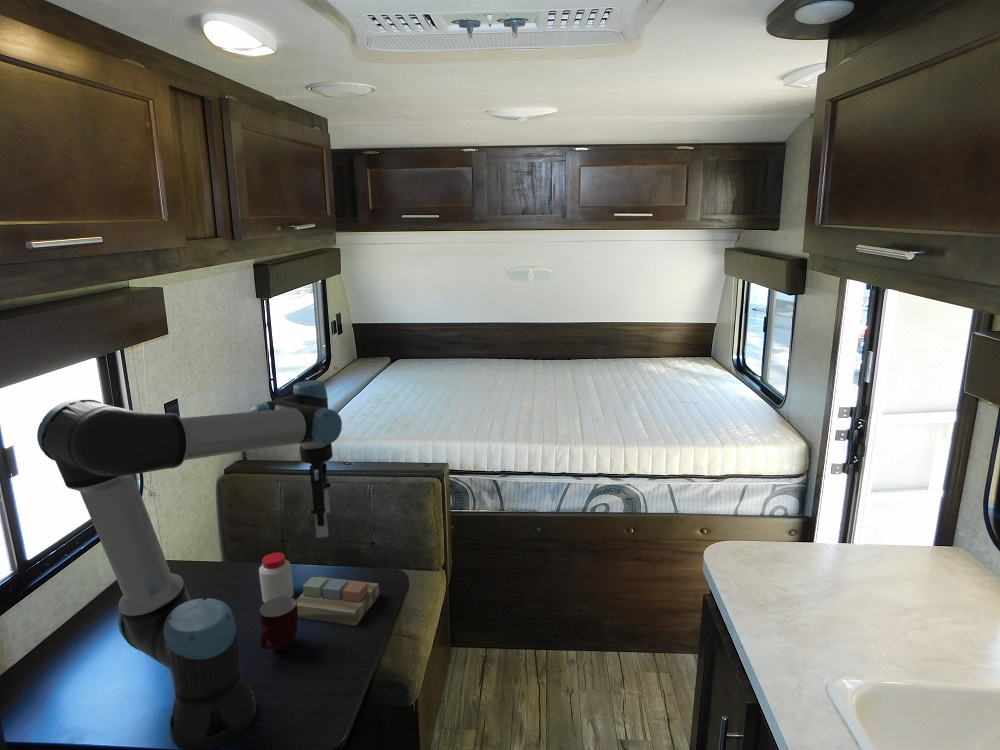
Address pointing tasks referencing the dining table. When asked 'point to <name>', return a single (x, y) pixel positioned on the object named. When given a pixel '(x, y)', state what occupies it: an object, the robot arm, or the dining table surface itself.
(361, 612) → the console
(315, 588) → the tile sage
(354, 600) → the tile terracotta
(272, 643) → the mug
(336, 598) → the tile slate
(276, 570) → the pill bottle
